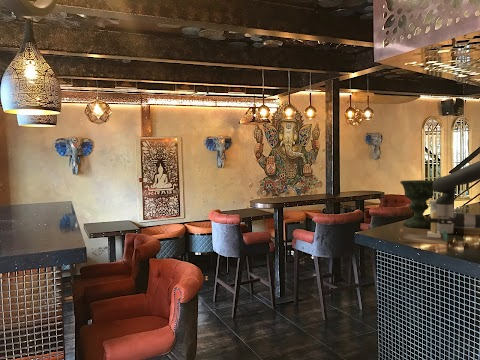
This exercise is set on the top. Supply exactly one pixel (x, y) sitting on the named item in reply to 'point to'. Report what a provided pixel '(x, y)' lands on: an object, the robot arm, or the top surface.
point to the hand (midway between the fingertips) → (429, 219)
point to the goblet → (418, 201)
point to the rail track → (423, 238)
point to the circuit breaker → (432, 206)
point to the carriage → (434, 227)
